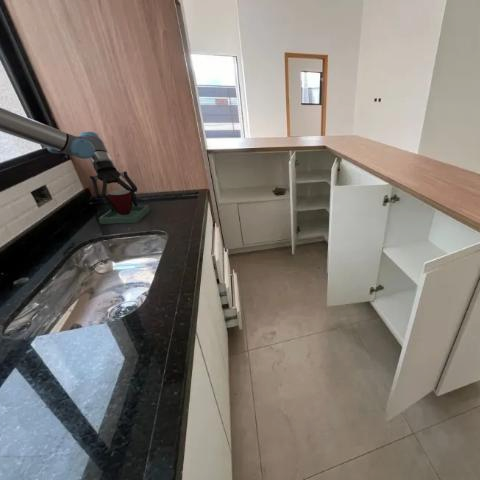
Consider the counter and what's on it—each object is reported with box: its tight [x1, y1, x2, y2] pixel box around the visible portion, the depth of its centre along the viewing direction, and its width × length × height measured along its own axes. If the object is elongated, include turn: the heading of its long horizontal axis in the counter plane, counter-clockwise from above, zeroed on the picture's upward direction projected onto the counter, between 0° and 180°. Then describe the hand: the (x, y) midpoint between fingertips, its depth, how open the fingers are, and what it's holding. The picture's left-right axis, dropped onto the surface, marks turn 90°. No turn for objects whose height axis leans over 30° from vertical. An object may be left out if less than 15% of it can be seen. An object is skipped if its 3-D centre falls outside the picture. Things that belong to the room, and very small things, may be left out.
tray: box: [98, 204, 151, 225], centre depth 121 cm, size 15×15×3 cm
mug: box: [107, 189, 133, 215], centre depth 118 cm, size 11×8×10 cm
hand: (125, 207), depth 117 cm, fingers closed on mug, 8 cm apart
